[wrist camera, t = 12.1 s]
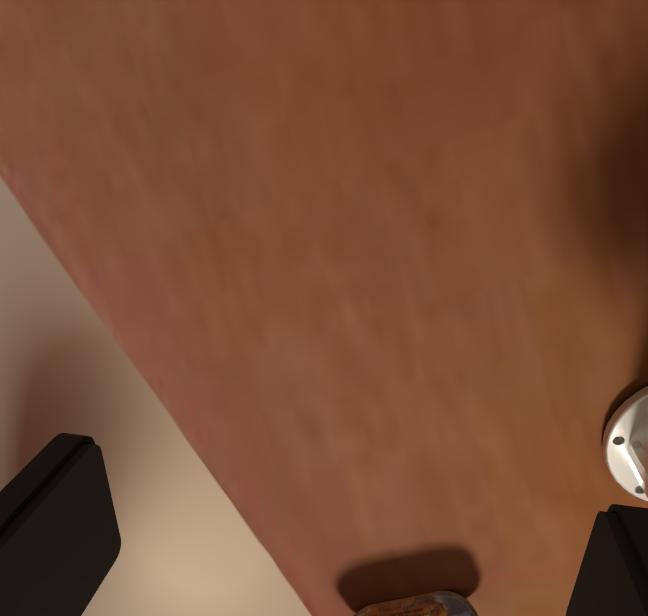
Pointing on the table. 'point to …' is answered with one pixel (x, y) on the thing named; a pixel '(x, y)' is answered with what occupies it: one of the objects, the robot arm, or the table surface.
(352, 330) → the table surface
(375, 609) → the tin
